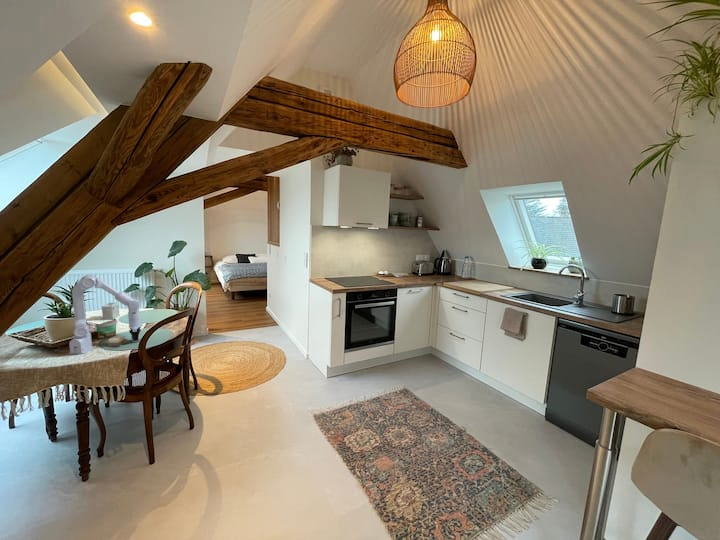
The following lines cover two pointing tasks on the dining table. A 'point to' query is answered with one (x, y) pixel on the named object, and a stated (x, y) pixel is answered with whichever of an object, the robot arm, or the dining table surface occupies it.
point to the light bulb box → (110, 311)
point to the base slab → (117, 343)
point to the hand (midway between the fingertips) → (135, 339)
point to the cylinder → (137, 340)
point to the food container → (106, 329)
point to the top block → (116, 339)
